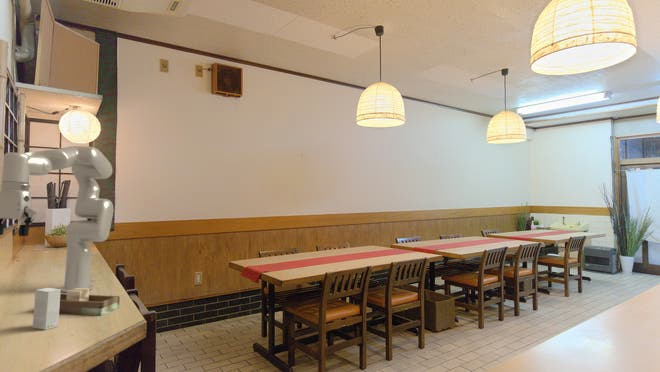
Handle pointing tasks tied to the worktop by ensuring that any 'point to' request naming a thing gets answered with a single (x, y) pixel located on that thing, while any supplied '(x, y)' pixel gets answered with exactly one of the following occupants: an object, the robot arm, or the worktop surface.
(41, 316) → the skincare box
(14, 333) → the worktop surface
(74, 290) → the birch block
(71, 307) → the channel
